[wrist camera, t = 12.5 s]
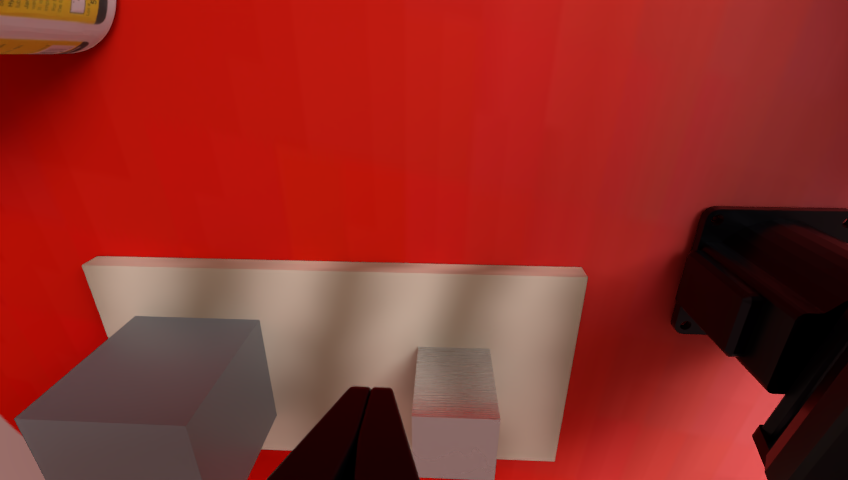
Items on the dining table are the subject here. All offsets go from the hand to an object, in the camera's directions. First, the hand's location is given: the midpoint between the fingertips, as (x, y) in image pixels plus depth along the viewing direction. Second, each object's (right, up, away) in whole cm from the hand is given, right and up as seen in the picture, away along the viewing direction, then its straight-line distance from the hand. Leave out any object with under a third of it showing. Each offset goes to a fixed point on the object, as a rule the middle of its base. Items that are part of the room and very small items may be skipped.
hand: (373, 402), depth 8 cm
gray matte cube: (-10, -4, +14) cm, 18 cm away
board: (-3, -3, +15) cm, 16 cm away
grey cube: (+3, -3, +14) cm, 15 cm away
